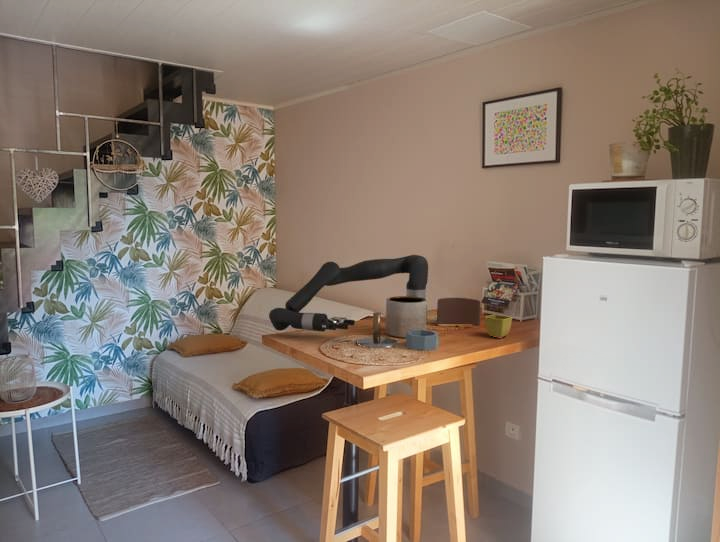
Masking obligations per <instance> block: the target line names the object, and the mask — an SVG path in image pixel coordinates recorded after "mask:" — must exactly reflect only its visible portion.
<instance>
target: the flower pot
mask: <svg viewBox="0 0 720 542" xmlns="http://www.w3.org/2000/svg"><path fill="white" fill-rule="evenodd" d="M484 318H485V319H484V321H485V330H486V332H487V334H488V336H489V335H491V336H497V337H502V336H505V335H507V336H508V334H509V333H510V330H511V326H512V322H513V316H508V315H502V314H496V313H495V314H494V313H493V314H490V315H487V316H485V317H484Z"/></svg>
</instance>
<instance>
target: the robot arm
mask: <svg viewBox="0 0 720 542" xmlns="http://www.w3.org/2000/svg"><path fill="white" fill-rule="evenodd" d="M397 274H409V275H408V281H407V282H406V286H405V287H406V290H405V291H406V292H405V293H406V296H411V297H420V298H424V299H426V298H427V295H426V293H427V290H426V289H427V284H428V279H429V263H428V260H427V258H426V257H424V256H422V255H418V254H411V255H406V256H401V257H398V258H397V257H395V258H377V259H367V260H363V261H360V262H357V263H354V264H351V265H350V266H346V267H340V265H338V263H337V262H334V261H327V262H325V263H323V264H322V265H321V266H320V268H319V269H318V271H317V272H316V273H315V275H313V277H311V278H310V280H309V281H308V282H307V283H306V284H304V286H303V287H302V288H300V289H299V290H298V291H297V292H296V293H294V294H293V295H292V296H291V297H290V298H289V299H288V300H286V302H285V303H284V304H285V305H284V307H285V308H283V307H275V308H273V309H271V310H270V311H269V314H268V317H269V318H268V319H269V320H270V322H271V324H272V327H273V328H274V329H275V330H276V331H279V332H281V331H285V330H286V329H287V328H289V326H290V327H291V328H293V329H296V330H305V331H311V332H312V331H314V332H323V333H324V332H325V331H326V330H329V331H336V330H348V329H349V326H355V323H356V322H355V320H354V319H348V318H346V317H338V316H337V317H335V316H332V317H330V318H328V315H327V314H326V313H320V312H319V313H318V312H301V311H302V310H303V309H304V308H305V307H306V306H308V304H309V303H310V302H311V301H312V300H313V299H314V297H315V296H316V295H317V294H318V292H320V291H321V290H322V289H323V288H324V287H325V286H327V287H332V286H336V285H337V286H338V285H340V284H345V283H350V282H362V281H370V280H379V279H384V278H387V277H390V276H393V275H397ZM426 300H427V299H426ZM426 323H427V324H428V304H426Z"/></svg>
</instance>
